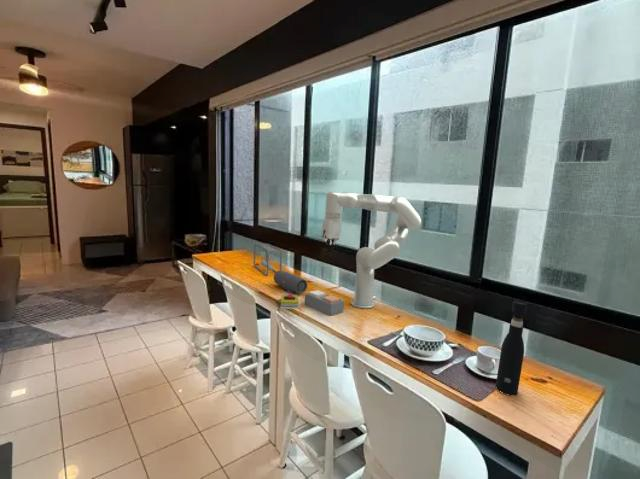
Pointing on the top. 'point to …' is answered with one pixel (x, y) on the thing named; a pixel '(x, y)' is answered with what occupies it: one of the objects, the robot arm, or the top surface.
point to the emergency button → (289, 302)
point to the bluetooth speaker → (290, 282)
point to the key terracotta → (331, 299)
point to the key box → (324, 305)
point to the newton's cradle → (267, 258)
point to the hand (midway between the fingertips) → (330, 251)
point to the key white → (317, 293)
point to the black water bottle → (512, 353)
